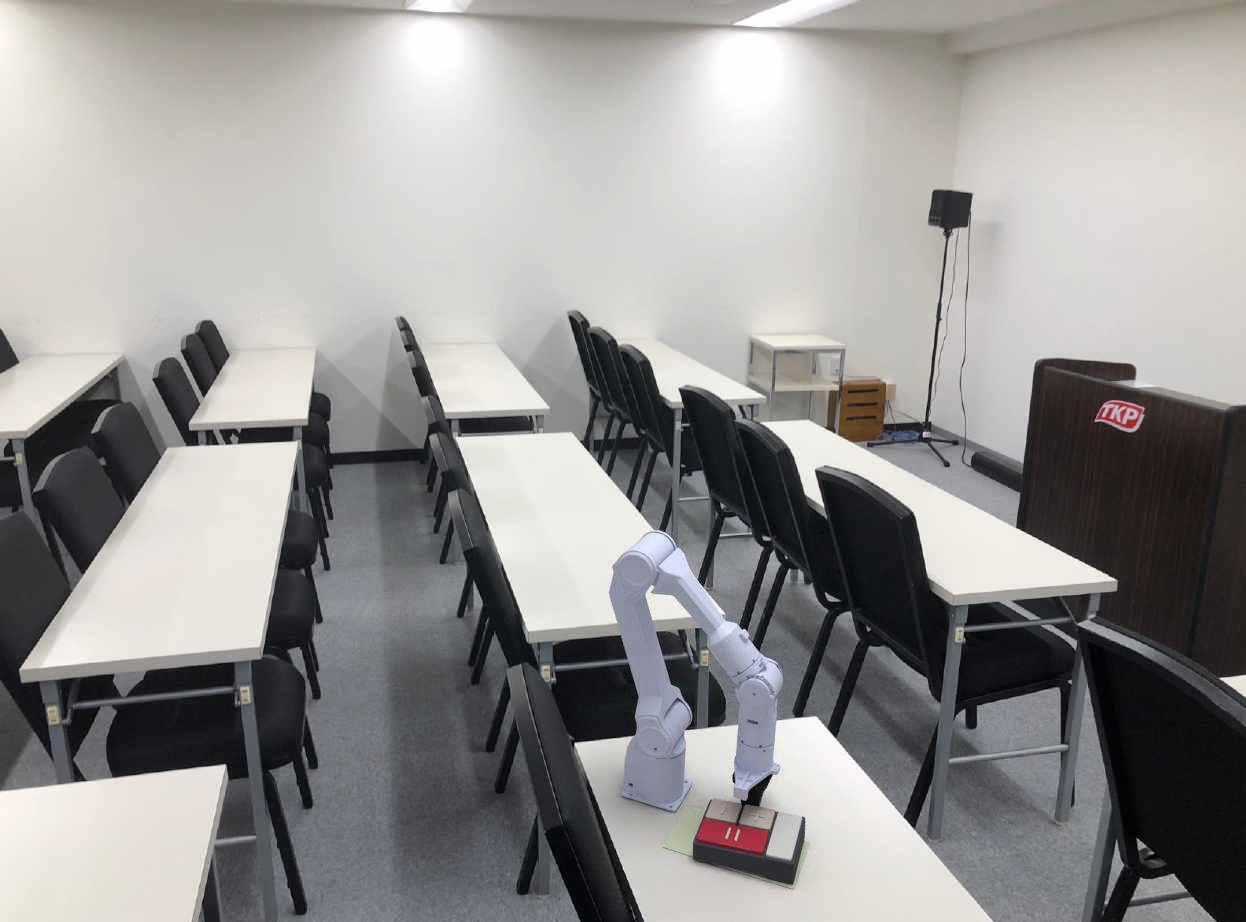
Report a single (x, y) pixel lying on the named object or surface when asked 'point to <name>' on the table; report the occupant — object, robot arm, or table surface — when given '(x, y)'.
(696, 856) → the button box
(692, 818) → the mat
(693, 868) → the table surface
